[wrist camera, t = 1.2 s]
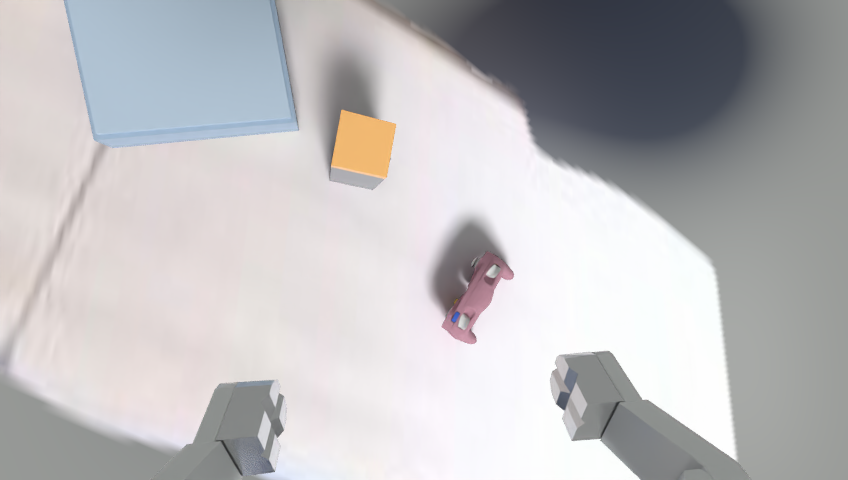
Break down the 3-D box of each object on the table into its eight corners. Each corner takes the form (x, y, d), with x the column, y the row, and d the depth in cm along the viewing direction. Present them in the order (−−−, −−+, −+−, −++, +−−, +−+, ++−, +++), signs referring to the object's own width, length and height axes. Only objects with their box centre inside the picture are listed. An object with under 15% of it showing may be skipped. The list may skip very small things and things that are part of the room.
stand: (112, 147, 33) (91, 139, 30) (83, 10, 32) (58, -13, 29) (298, 130, 37) (296, 120, 34) (276, 7, 36) (271, -13, 33)
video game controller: (481, 253, 44) (482, 240, 37) (515, 273, 43) (523, 263, 36) (438, 325, 43) (431, 325, 36) (472, 347, 42) (472, 351, 35)
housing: (372, 189, 39) (386, 177, 31) (329, 180, 38) (331, 164, 29) (380, 148, 39) (396, 123, 31) (337, 137, 38) (341, 109, 29)
